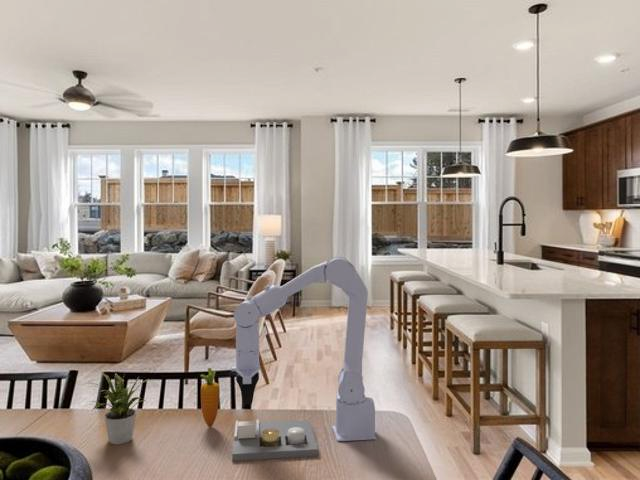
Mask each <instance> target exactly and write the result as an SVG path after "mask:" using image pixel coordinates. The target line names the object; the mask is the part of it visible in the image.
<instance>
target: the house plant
mask: <svg viewBox="0 0 640 480" xmlns="http://www.w3.org/2000/svg"><path fill="white" fill-rule="evenodd" d="M125 374H126V373H124V375H123V376H122V377H121V376H120V375H118V374H117V373H116V372H115V373H114V385H113V383H112V380H111V378H110V376H109V375H107V374H105V373H103V372H101V375H102V376H104V377H105V378H106V380H107V383H108V386H109V388H110V390H111V391H110V390H109V389H107V390H106V389H105V388H103V387H102V386H101V388H103V389H101V388H100V386H99V384H97V383H95V385H97V386H94V383H89V382H88V383H86V385H90V387H94V388H98V389H100V392H103V394H105V396H103V397H104V398H105V399H106V400H108V401H109V402H110V404H107V403H105V402H101V403H100V402H99V401H97V400H89V401H88V402H93V403H94V402H95V403H97V404H95V405H94V406H93V408H92V410H95V409H97V408H99V407H101V406H102V408H105V409H107V410H108V412H106V413H105V414H104V416H103V417H104V421H105V428H106V433H107V438H108V442H109V444H111V445H122V444H126V443H128V442H130V441H131V440H132V439H133V434H134V429H135V422H136V416H137V410H135V409H134V407H135V406H136V405H137V404H138V403H140V402H147V400H146V399H143V398H142V397H140V396H139V397H138V396H136V397H133V398H131V397H132V395H134V393H135V392H136V391H137V390H138V388H139V387H140V386H141V385H142V384H143V383H145V382H147V381H149V380H150V378H148V379H145V380H143V381H142V382H140V384H138V386H137V387H136V388H135V389H134V387H135V385H136V384H137V382H138V380H139V379H140V376H138V377H137V378H136V379H135V382H134V383H133V385H132V387H131V389H129V387H126V388H125V384H124V381H123V380H124V377H125ZM91 385H93V386H91ZM98 386H99V387H98ZM139 399H141V400H140V401H139ZM136 400H138V402H136V403H134V402H135V401H136ZM133 403H134V405H133ZM104 405H108V406H109V407H105V406H104ZM132 405H133V406H132ZM131 406H132V407H131ZM130 407H131V408H130ZM108 408H109V409H108Z"/></svg>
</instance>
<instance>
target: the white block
mask: <svg viewBox="0 0 640 480" xmlns="http://www.w3.org/2000/svg"><path fill="white" fill-rule="evenodd" d="M255 423H256V420H245V421H238V439H240V438H255Z"/></svg>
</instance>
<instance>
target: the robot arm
mask: <svg viewBox="0 0 640 480" xmlns="http://www.w3.org/2000/svg"><path fill="white" fill-rule="evenodd" d="M327 281H328V282H329V283H331V284H332V285H334V286H336V287H337V288H340V289H341V290H342V292H343V293H344V294H345V295H347V297H348V304H347V305H348V307H347V319H346V331H345V342H344V343H345V344H344V354H343V355H344V356H343V363H342V368H341V370H340V372H339V374H338V378H337V380H338V389H337V392H338V393H336V394H337V395H336V398H335V403H336V404H335V405H336V411H335V415H336V416H335V422H336V423H335V425H332V430H333V431H332V432H333V433H334V436H335V438H336V441H337V442H347V441H349V442H350V441H364V440H365V441H367V440H376V437H377V436H376V407H375V402H374V398H373V397H370V396H369V397H367V396H366V395H365V392H366V391H365V384H364V381H363V377H364V376H363V355H364V345H365V344H364V342H365V331H366V330H365V328H366V319H367V309H368V295H369V291H368V288H367V286H366V285H365V282H364V281H363V279H362V278H361V276H360V274H359V273H358V271H357V269H356V267H355V266H354V265H353V264H352V263H351V262H350V261H349V260H348V259H347V258H345V257H343V256H335V257H332V258H331V259H330V260H329V261H328V260H327V261H326V260H325V261H323V262H321V263H318V264H316V265H314V266H312V267H311V268H309V269H307V270H305V271H303V272H302V273H301V274H299V275H298V276H296V277H294V278H293V279H291V280H290V281H288V282H286V283H285V284H283V285H277V284H272V285H271V286H270V284H267V285H266V286H264V287H263V289H264V290H262V291H261V292H259V293H257V294H255V295H254V296H253V295H250V296H248V297H247V299H248V300H244V301H243V302H241V303H239V305H238V306H237V307H236V308H235V309H234V312H233V319H234V321H235V323H236V324H235V325H236V329H235V330H236V331H235V365H232V366H231V369H230V371H231V372H235V373H237V374H236V377H235V381H236V383H237V385H238V387H239V389H240V394H241V400H242V404H243V405H252V404H253V401H254V394H255V390H256V386H257V384H258V383H259V380H260V373H259V372H260V370H261V366H260V330H259V319H260V318H264V317H266V316H268V315H270V314H271V313H273V312H275V311H276V310H278V309H280V308H282V307H284V306H285V305H286V303H287V300H288V298H289V297H291V296H293V295H294V294H296V293H298V292H300V291H302V290H304V289H305V288H308V287H309V286H311V285H313V284H317V283H319V284H326V283H327Z"/></svg>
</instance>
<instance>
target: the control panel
mask: <svg viewBox="0 0 640 480" xmlns="http://www.w3.org/2000/svg"><path fill="white" fill-rule="evenodd" d="M238 422H239V420H235V426H234V435H233V445H232V453H231V454H232V455H231V456H232V457H231V460H232V462H235V461H237V462H238V461H250V460H251V461H253V460H269V459H284V458H287V459H288V458H301V457H318V456H319V448H318V444H317V441H316V437H315V432H314V430H313V426H312V423H311V420H310V419H304V420H303V419H302V420H301V419H300V420H283V421H282V420H281V421H279V420H278V421H261V422H260V419H256V422H255V438H240V439H238ZM293 427H300V428H303V429H304V430H305V444H302V445H287V443H288V430H289V429H290V428H293ZM265 429H277V430H278V431H279V443H280V445H277V446H273V447H266V446H261V445H262V431H263V430H265Z"/></svg>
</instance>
